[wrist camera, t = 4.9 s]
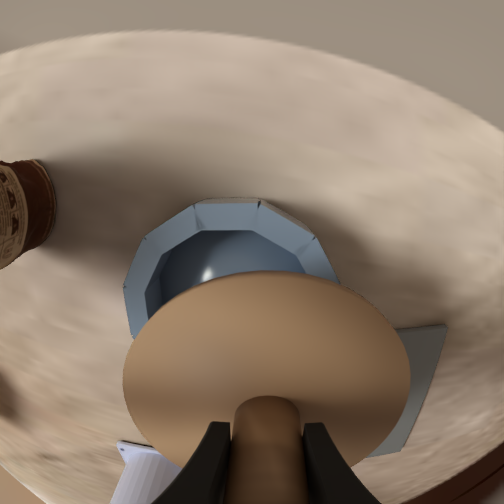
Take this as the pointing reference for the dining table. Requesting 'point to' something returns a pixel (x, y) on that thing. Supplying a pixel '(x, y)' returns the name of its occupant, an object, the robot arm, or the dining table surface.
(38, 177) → the coffee cup
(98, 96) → the dining table surface
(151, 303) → the dish
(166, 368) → the lid
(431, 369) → the plate
